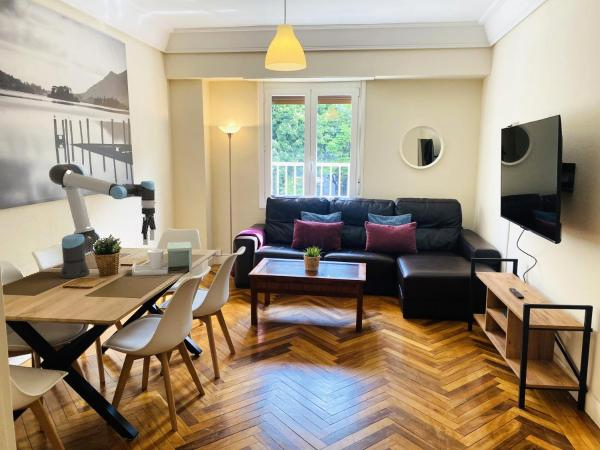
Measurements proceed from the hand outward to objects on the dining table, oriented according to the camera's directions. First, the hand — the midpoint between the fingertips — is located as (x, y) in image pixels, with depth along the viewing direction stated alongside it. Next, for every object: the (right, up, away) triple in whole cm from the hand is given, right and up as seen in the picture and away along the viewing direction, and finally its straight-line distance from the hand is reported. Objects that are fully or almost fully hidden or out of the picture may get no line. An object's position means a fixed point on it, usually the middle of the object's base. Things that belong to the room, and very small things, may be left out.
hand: (149, 242), depth 265 cm
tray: (0, -18, +3) cm, 18 cm away
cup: (+2, -16, +7) cm, 18 cm away
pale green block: (+16, -17, +8) cm, 25 cm away
